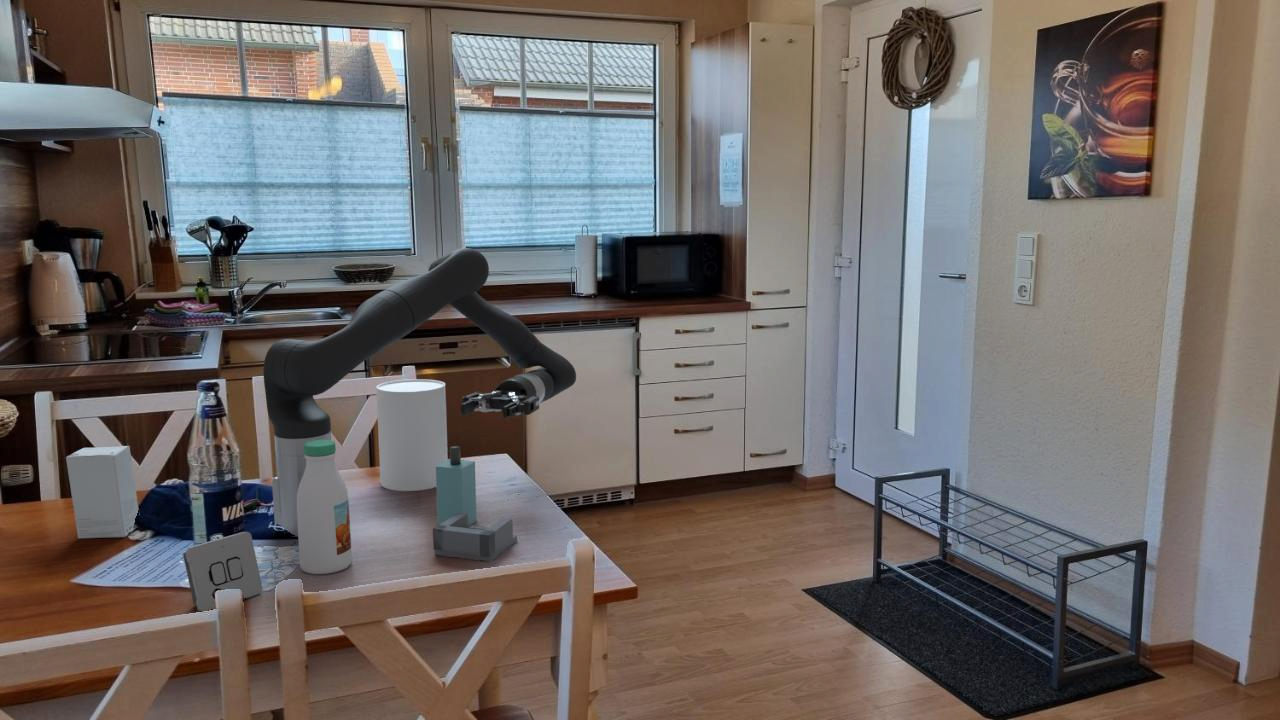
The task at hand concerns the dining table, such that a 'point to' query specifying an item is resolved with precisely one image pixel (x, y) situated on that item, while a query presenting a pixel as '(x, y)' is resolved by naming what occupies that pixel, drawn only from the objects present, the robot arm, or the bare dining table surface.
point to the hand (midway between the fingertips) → (483, 411)
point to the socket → (472, 538)
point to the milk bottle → (323, 512)
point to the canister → (411, 433)
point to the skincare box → (103, 491)
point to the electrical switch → (222, 568)
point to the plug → (456, 487)
